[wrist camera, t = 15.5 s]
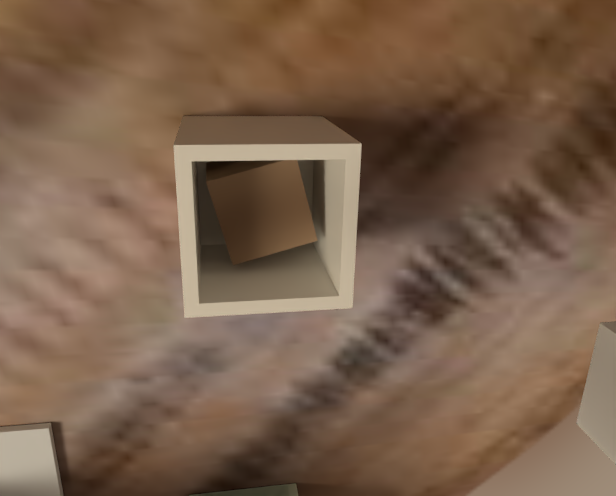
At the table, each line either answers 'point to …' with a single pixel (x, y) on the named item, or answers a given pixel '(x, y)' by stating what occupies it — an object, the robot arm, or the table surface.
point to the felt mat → (29, 461)
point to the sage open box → (258, 491)
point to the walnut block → (260, 206)
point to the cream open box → (285, 264)
